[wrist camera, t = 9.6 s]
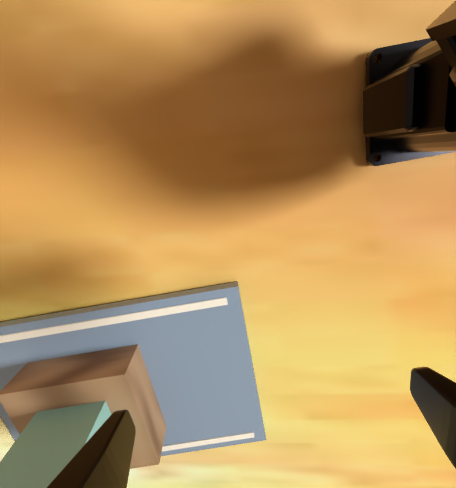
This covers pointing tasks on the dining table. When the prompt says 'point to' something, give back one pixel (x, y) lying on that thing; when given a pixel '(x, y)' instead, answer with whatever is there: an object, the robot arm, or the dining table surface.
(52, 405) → the plinth
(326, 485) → the dining table surface
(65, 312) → the board
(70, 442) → the teal block
